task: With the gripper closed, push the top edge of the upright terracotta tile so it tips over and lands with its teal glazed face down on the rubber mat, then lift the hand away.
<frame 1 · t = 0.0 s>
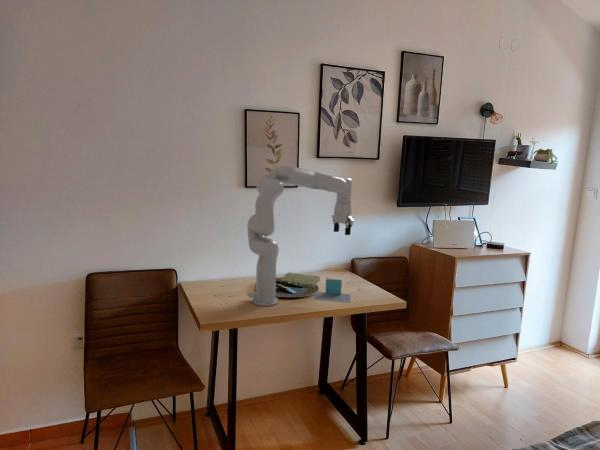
hand: (341, 233, 229), 31 cm above the table, tool pointing down, fingers open, 9 cm apart
decorative tile: (299, 283, 244), on the table
rubber mat: (332, 298, 220), on the table
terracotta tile: (333, 294, 224), point 1 cm above the table, touching rubber mat
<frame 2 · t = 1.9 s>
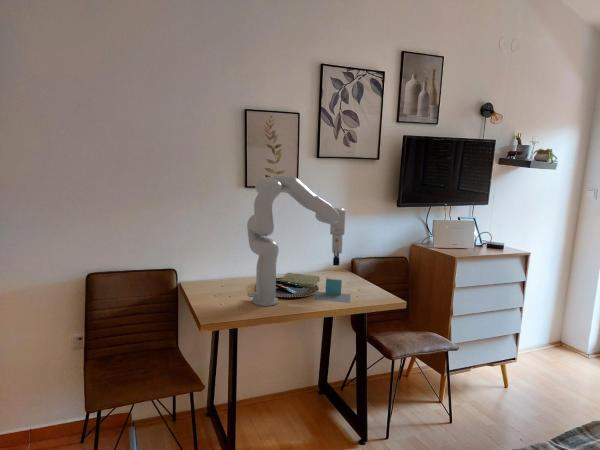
hand: (336, 265, 229), 14 cm above the table, tool pointing down, fingers closed
nothing on the table moved.
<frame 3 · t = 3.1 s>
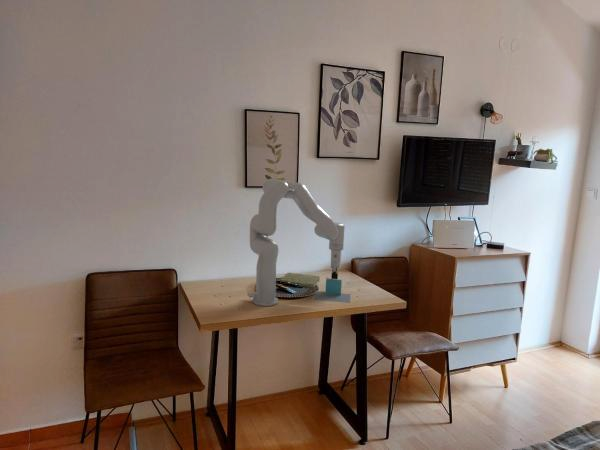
hand: (334, 280, 229), 7 cm above the table, tool pointing down, fingers closed
nothing on the table moved.
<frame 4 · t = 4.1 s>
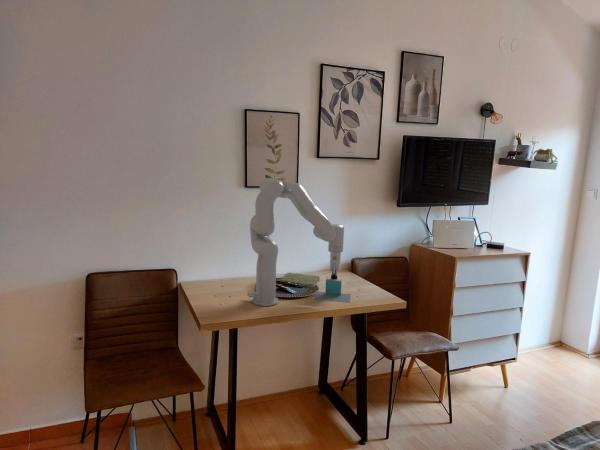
hand: (333, 282, 224), 7 cm above the table, tool pointing down, fingers closed
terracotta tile: (333, 293, 224), point 1 cm above the table, tilted 10°, touching rubber mat
everything else where it was.
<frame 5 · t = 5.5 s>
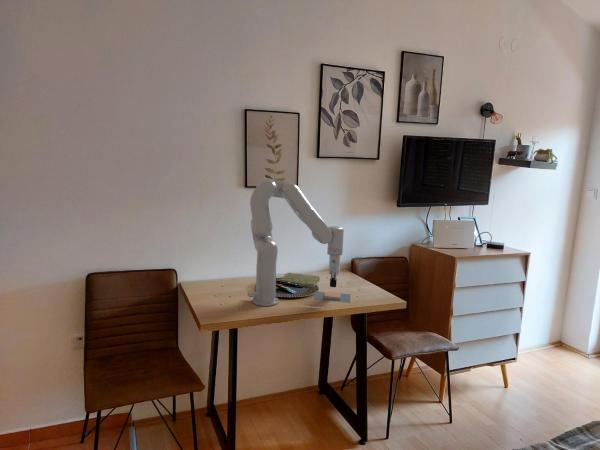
hand: (333, 286, 218), 7 cm above the table, tool pointing down, fingers closed
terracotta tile: (333, 293, 223), point 2 cm above the table, tilted 90°, touching rubber mat
everything else where it was.
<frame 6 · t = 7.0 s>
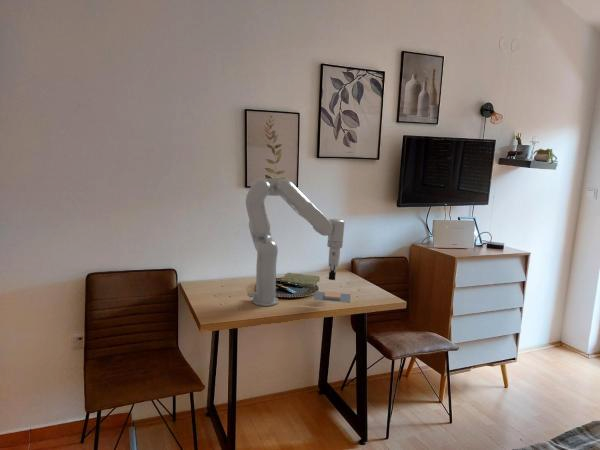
hand: (331, 279, 217), 10 cm above the table, tool pointing down, fingers closed
nothing on the table moved.
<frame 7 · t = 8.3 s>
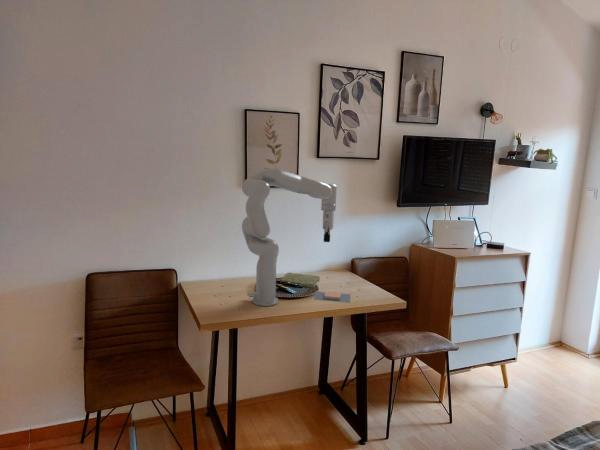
hand: (326, 241, 228), 27 cm above the table, tool pointing down, fingers closed
nothing on the table moved.
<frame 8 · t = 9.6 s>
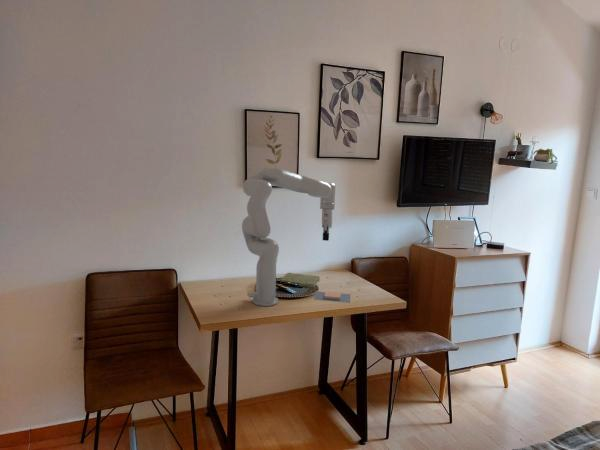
hand: (325, 240, 230), 27 cm above the table, tool pointing down, fingers closed
nothing on the table moved.
at the end: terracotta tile tilted 90°; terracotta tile inside the target area (1.1 cm from its centre), point 1.5 cm above the table; the gripper is holding nothing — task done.
